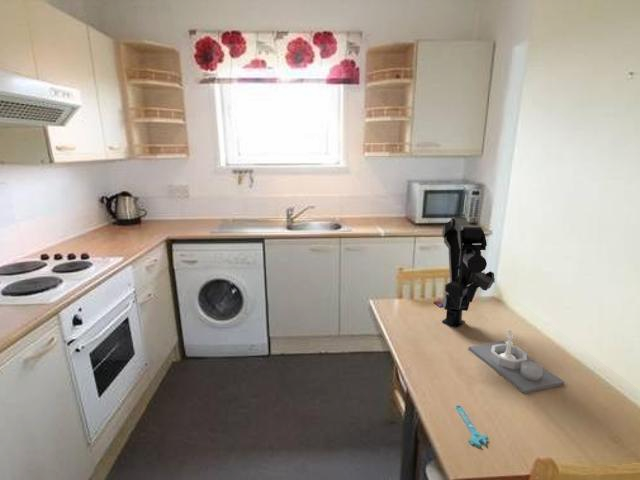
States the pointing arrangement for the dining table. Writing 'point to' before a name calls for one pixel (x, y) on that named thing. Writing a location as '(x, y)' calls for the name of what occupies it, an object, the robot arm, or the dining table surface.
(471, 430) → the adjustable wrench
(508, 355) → the chess piece
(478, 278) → the robot arm
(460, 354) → the dining table surface
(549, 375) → the carrier plate
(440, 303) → the snack package
